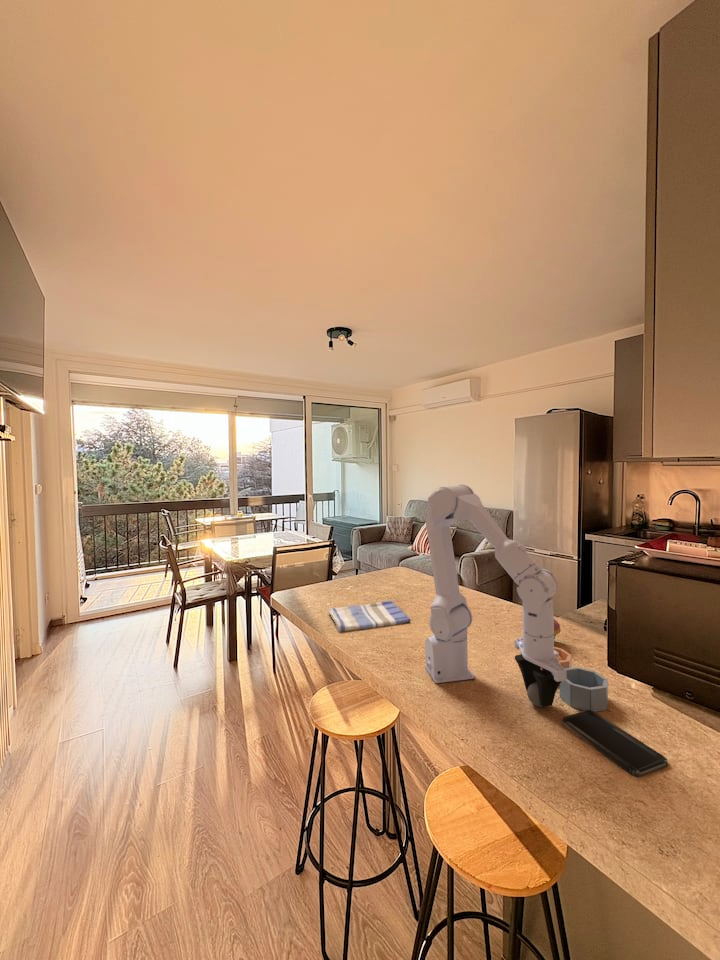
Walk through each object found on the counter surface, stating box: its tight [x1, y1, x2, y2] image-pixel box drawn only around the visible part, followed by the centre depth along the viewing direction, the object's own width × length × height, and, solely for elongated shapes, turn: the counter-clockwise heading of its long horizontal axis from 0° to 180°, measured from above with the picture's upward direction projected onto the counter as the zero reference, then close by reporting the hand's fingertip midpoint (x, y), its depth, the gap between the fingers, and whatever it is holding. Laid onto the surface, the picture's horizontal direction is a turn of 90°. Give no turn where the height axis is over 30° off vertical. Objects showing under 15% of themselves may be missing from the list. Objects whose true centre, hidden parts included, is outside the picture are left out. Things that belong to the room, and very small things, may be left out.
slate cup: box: [559, 666, 609, 713], centre depth 85 cm, size 8×8×4 cm
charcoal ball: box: [526, 682, 544, 708], centre depth 83 cm, size 4×4×4 cm
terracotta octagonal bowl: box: [540, 646, 573, 670], centre depth 95 cm, size 8×8×4 cm
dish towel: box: [327, 600, 412, 633], centre depth 133 cm, size 17×24×3 cm
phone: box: [561, 710, 669, 778], centre depth 72 cm, size 8×1×15 cm
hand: (539, 698), depth 83 cm, fingers closed on charcoal ball, 4 cm apart
